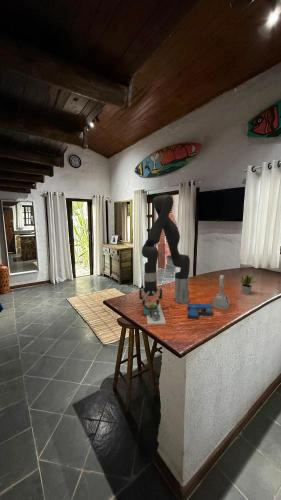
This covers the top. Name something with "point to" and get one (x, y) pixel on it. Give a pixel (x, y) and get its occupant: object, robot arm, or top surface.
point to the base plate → (161, 321)
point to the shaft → (154, 315)
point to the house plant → (246, 284)
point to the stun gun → (199, 310)
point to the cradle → (146, 312)
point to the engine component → (221, 296)
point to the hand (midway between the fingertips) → (150, 305)
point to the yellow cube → (150, 305)
